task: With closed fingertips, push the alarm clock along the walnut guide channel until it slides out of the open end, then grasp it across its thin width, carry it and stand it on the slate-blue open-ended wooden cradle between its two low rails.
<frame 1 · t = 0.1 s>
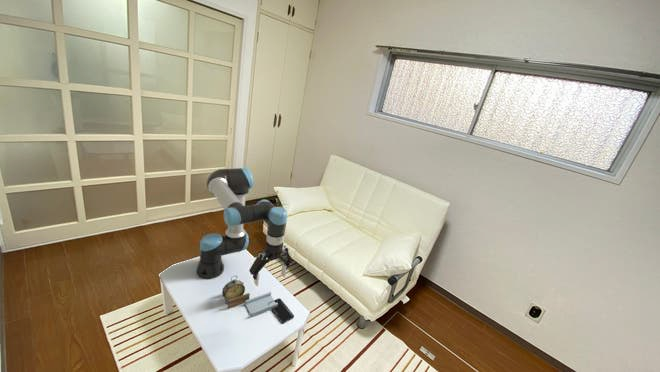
hand: (269, 279, 124), 28 cm above the table, fingers open, 13 cm apart
cradle: (261, 305, 143), on the table
phone: (280, 311, 143), on the table
channel: (235, 298, 145), on the table
alarm clock: (232, 299, 144), on the table
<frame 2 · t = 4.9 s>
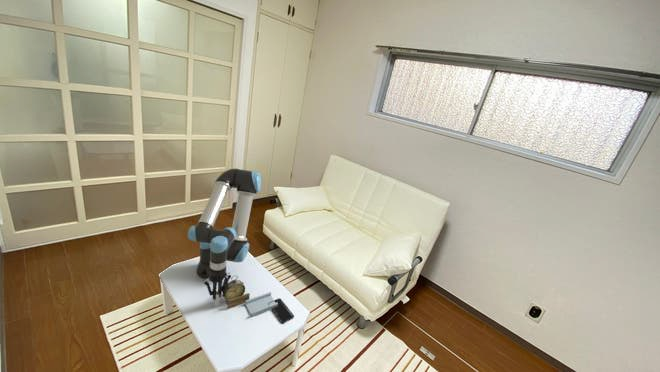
hand: (216, 302, 138), 1 cm above the table, fingers closed
alarm clock: (233, 299, 144), on the table, touching gripper, hand
everything else where it was.
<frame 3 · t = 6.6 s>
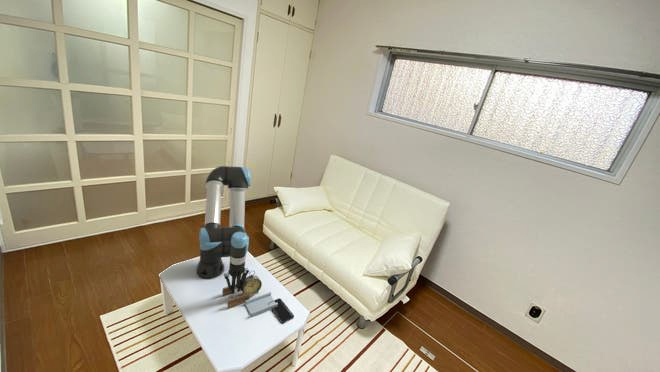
hand: (234, 296, 143), 2 cm above the table, fingers closed
alarm clock: (249, 294, 149), on the table, touching gripper, hand
everything else where it was.
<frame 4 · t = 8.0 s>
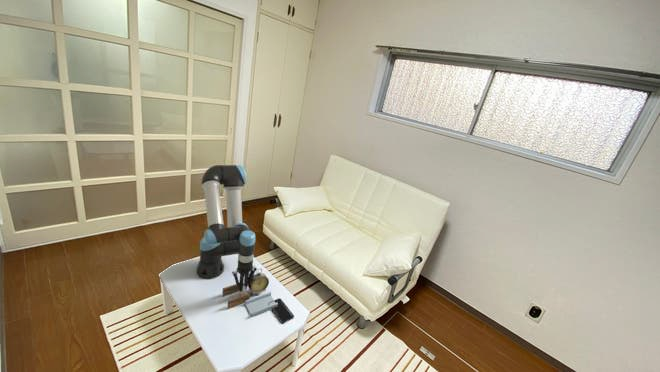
hand: (242, 294, 146), 2 cm above the table, fingers closed
alarm clock: (257, 292, 152), on the table, touching gripper, hand
everything else where it was.
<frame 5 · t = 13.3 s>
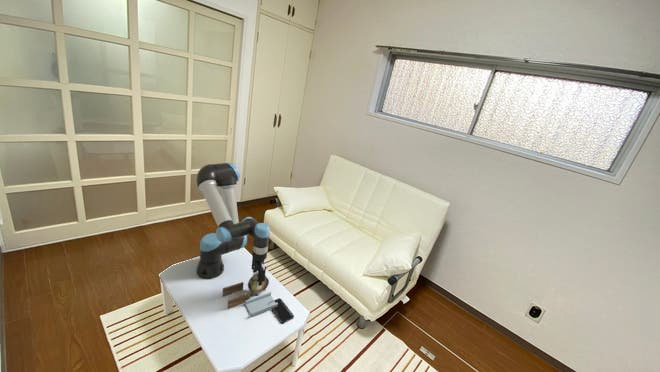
hand: (256, 285, 150), 5 cm above the table, fingers closed on alarm clock, 5 cm apart
alarm clock: (257, 292, 152), on the table, touching gripper
everything else where it was.
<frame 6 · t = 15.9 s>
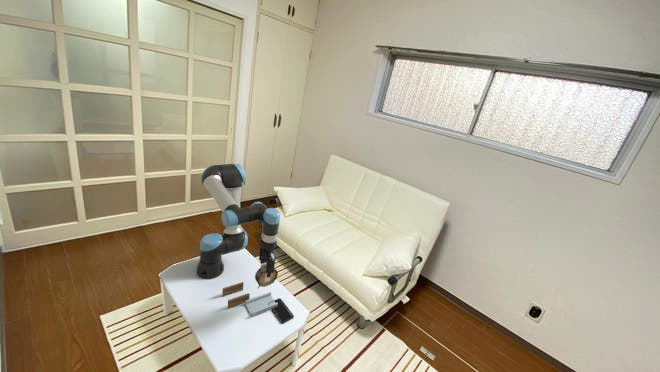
hand: (264, 277, 136), 19 cm above the table, fingers closed on alarm clock, 5 cm apart
alarm clock: (264, 284, 139), point 14 cm above the table, touching gripper
everything else where it was.
when the fingers open (6 cm above the table, at t = 18.5 s): alarm clock stays where it is, resting on cradle.
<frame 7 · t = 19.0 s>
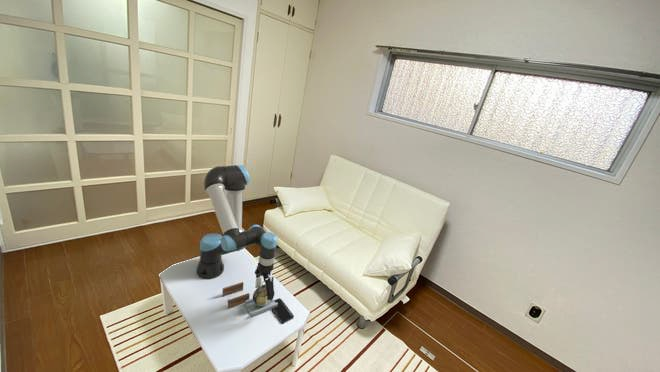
hand: (262, 294, 141), 8 cm above the table, fingers open, 12 cm apart
alarm clock: (262, 304, 144), resting on cradle
everything else where it was.
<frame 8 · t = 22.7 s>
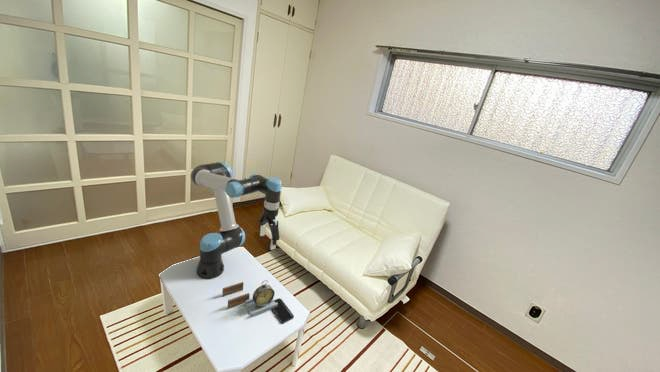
hand: (267, 242, 144), 32 cm above the table, fingers open, 13 cm apart
nothing on the table moved.
at the end: alarm clock inside the target area on the cradle (0.7 cm from its centre), point 0.4 cm above the cradle's base; alarm clock tilted 0°; the gripper is holding nothing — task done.
